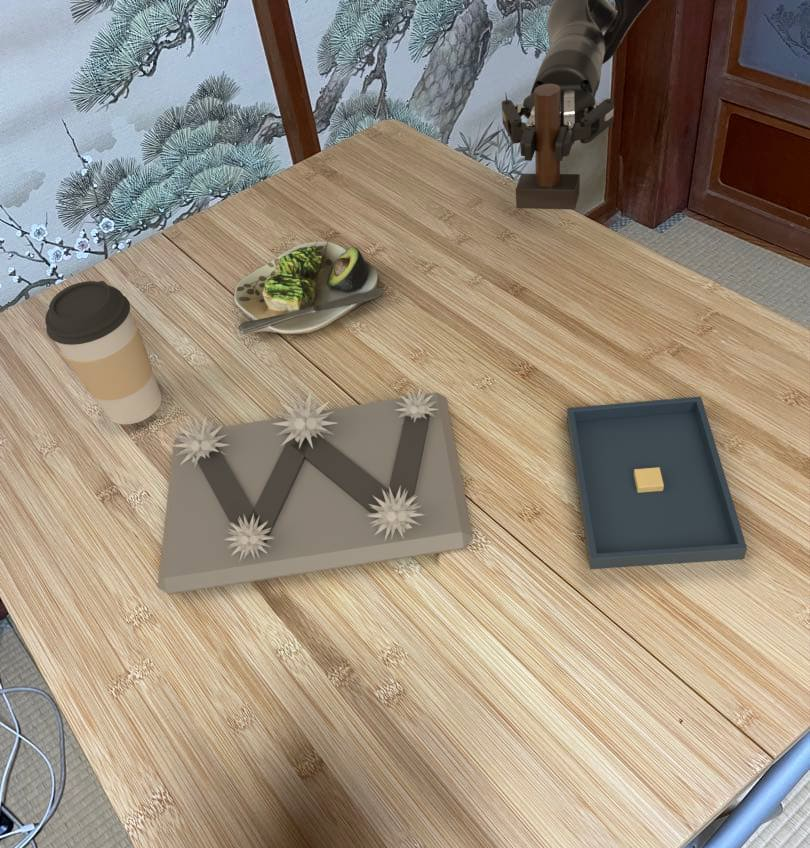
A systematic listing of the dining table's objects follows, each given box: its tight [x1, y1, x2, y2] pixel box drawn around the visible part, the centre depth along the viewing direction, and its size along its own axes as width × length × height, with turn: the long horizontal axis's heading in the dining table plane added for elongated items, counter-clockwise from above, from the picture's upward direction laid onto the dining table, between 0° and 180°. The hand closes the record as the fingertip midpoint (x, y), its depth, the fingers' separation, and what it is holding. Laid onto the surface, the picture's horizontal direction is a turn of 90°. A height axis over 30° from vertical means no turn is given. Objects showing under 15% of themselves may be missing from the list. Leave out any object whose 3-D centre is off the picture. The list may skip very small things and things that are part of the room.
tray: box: [566, 396, 748, 570], centre depth 79 cm, size 19×13×2 cm
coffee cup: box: [44, 280, 163, 426], centre depth 92 cm, size 9×9×15 cm
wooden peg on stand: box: [515, 84, 581, 211], centre depth 95 cm, size 4×7×13 cm, turn 74°
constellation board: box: [157, 386, 474, 596], centre depth 82 cm, size 30×22×7 cm
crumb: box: [634, 467, 664, 493], centre depth 79 cm, size 2×2×1 cm
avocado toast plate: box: [233, 240, 386, 335], centre depth 104 cm, size 19×18×5 cm
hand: (543, 152), depth 93 cm, fingers closed on wooden peg on stand, 3 cm apart
